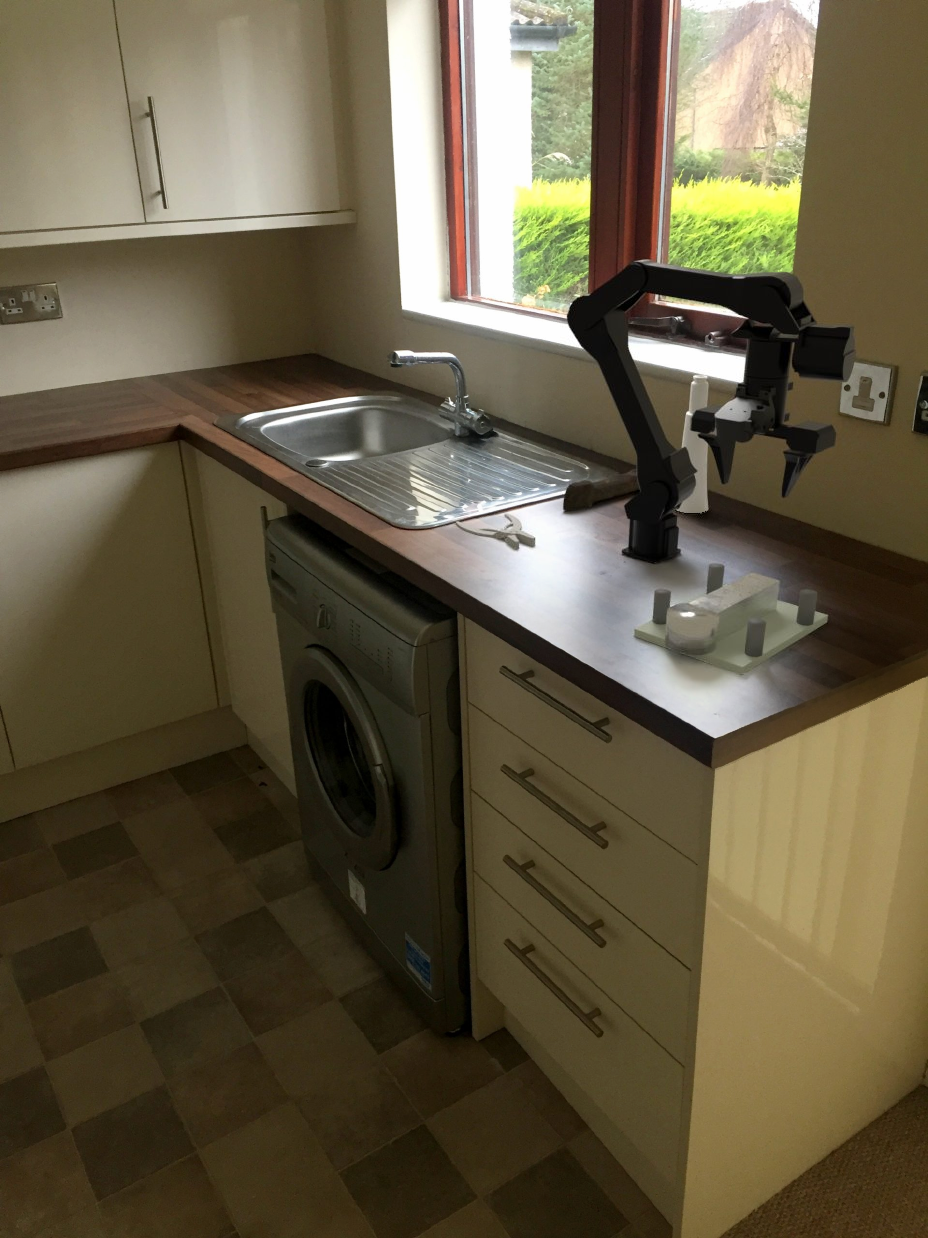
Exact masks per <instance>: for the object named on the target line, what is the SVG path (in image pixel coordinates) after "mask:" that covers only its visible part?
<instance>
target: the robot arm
mask: <svg viewBox="0 0 928 1238" xmlns="http://www.w3.org/2000/svg"><path fill="white" fill-rule="evenodd" d="M804 292H805V291H804V288H803V284H802V283H801V281H800V280H799V277H798V276H797V275H795V274H794V273H791V272H787V271H771V272H753V273H737V274H736V273H735V274H733V273H727V272H720V271H714V270H706V269H701V268H696V267H695V268H694V267H687V266H680V265H674V264H668V263H663V262H662V263H661V262H656V261H654V260H652V259H641V260H634V261H632V262H630V263H628V264H627V265H626V266H625V267H624V268H623V269H622V270H621V271H619V272H618V273H617V274H616V275H614V276H613V277H612V278H610V279H609V280H607V281H606V282H604V283H603V284H602V285H600V286H599V287H598V288H595V289H594V290H593V291H592V292H590V293H587V294H583V295H580V296H578V297H576V298H575V299H574V300H572V302H571V303H570V306H569V308H568V310H567V314H566V321H567V325H568V327H569V329H570V331H571V333H572V334H573V336H574V337H575V339H576V340H577V342H578V344H579V345H580V347H581V348H582V349H583V350H584V351H585V352H586V353H587V354H589V356H591V358H592V359H593V360H594V361H595V362H596V363H597V365H598V367H599V369H600V372H601V375H602V376H603V379H604V381H605V384H606V386H607V388H608V391H609V393H610V397H612V400H613V403H614V404H615V408H616V409H617V413H619V416H620V417H619V418H621V421H622V423H623V426H624V428H625V431H626V433H627V436H628V438H629V440H630V443H631V446H632V447H633V450H634V451H635V455H636V469H637V480H638V484H639V488H640V491H639V493H637V494H636V495H635V496H634V497H632V498H631V499H629V500H628V501H627V502H625V504H624V505H623V508H624V512H625V515H626V516H625V517H626V519H628V520H629V526H628V527H629V528H628V529H629V530H628V542H627V543H628V544H627V545H628V546H626V547H625V548H622V549H621V554H622V555H627V556H628V557H629V556H630V557H633V558H636V559H640V560H643V561H646V562H650V563H652V564H653V563H654V564H659V563H661V562H663V561H665V560H667V559H669V558H672V557H674V556H676V555H679V554H681V551H682V549H681V548H678V546H679V533H680V526H678V517H679V515H677V514H674V512H676V511H675V510H676V509H679V508H680V506H681V504H682V502H683V501H684V500H686V499H687V498H689V497H690V496H691V494H692V493H693V491H694V488H695V486H696V479H695V475H694V474H695V473H697V470H696V469H695V467H694V466H693V465H692V463H691V460H690V457H689V453H688V450H687V448H686V447H683V448H682V447H681V448H680V449H676V448H675V447H674V445H673V444H671V443H670V441H669V440H668V439H667V437H666V434H665V432H664V430H663V427H662V425H661V422H660V420H659V418H658V416H657V413H656V411H655V409H654V406H653V404H652V401H651V399H650V396H649V394H648V392H647V390H646V389H647V388H646V386H645V385H644V381H643V379H642V377H641V375H640V372H639V370H638V367H637V366H636V363H635V361H634V357H633V356H632V353H631V351H630V346H629V324H628V319H627V316H626V313H627V312H628V311H630V310H631V309H632V308H633V307H635V305H636V304H637V303H638V302H639V301H640V300H641V299H642V298H643V297H644V296H645V295H646V294H651V295H655V296H662V297H668V298H673V299H674V298H675V299H680V300H686V301H692V302H699V303H704V304H709V305H715V306H720V307H723V308H725V309H727V310H729V311H730V312H731V311H732V312H733V313H735V314H737V315H739V316H741V317H743V318H746V319H744V320H743V322H742V324H741V325H740V326H739V327H738V328H737V329H735V330H734V331H732V332H731V334H730V335H731V338H733V339H742V340H743V339H744V340H746V352H745V361H744V372H743V381H742V382H739V383H737V387H735V394H734V397H733V399H732V400H729V401H728V402H726V403H725V404H724V405H716V404H712V405H709V406H708V405H707V407H705V408H701V409H698V410H696V411H695V412H694V413H693V415H692V417H691V421H690V430H691V431H694V432H699V434H698V437H699V438H701V439H704V440H705V441H706V442H707V443H708V447H710V450H711V452H712V455H713V458H714V460H715V464H716V469H717V471H718V475H719V479H720V483H721V485H728V484H729V480H730V478H731V474H732V467H733V463H734V457H735V456H734V455H735V450H736V449H735V448H736V444H737V443H741V444H744V443H748V442H750V441H752V440H753V437H754V436H756V435H759V436H763V437H770V438H774V439H781V440H785V444H786V445H787V446H788V449H786V450H783V452H782V453H783V457H784V460H785V466H784V471H783V478H782V484H781V498H783V499H786V498H787V497H789V496H790V494H791V492H792V491H793V488H794V487H795V485H796V483H797V482H798V481H799V478H800V476H801V475H802V473H803V472H804V470H805V469H806V467H807V466H808V464H809V463H810V461H811V459H813V457H814V456H815V455H817V454H818V453H819V454H820V453H822V452H824V451H825V450H827V449H830V448H832V447H835V446H836V438H837V432H836V429H835V428H834V425H833V424H831V423H825V422H818V421H813V420H812V421H811V420H806V421H803V422H800V423H797V424H794V425H790V424H785V422H786V423H787V422H788V421H790V414H791V413H790V412H786V407H787V400H788V399H787V398H788V392H789V391H793V389H794V381H790V374H791V373H790V372H791V367H792V369H793V372H794V373H796V374H797V373H798V376H799V378H800V379H806V380H807V379H808V380H816V381H817V380H818V381H828V382H838V383H839V382H840V383H841V382H842V383H847V382H849V379H850V378H851V375H852V373H853V370H854V366H855V361H856V357H857V350H856V349H855V348H856V343H855V336H854V331H855V327H854V325H853V324H851V325H849V324H840V325H825V324H824V325H823V324H818V323H817V322H818V321H817V320H816V319H815V317H814V315H813V314H812V312H811V310H810V308H809V307H808V305H807V303H806V301H805V300H804ZM758 323H759V324H758ZM767 324H768V325H767ZM736 442H737V443H736Z"/></svg>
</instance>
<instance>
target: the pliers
mask: <svg viewBox="0 0 928 1238" xmlns="http://www.w3.org/2000/svg"><path fill="white" fill-rule="evenodd" d="M504 517H505V518H507V519H508V520H509V521H510V523H507V524H506V525H504V528H500V529H499V530H498V529H494V528H484V527H483V528H482V527H481V528H477V527H472V526H469V525H467V524H464V523H462V522H460V521H455V524H456V526H458V527H459V528H460V529H461V530H463V531H465V532H468V533H470V534H473V535H477V536H482V537H487V538H489V537H490V538H496V539H498V540H499V539H500V540H501V539H504V540H505V541H504V542H506V543H507V544H508V545H510V546H511V547H512V548H514V549H515V550H519V549H520V543H523V544H526V545H529V546H531V547H533V546H536V537H535V536H533V534H530V533H528V532H526V531H524V530H522V529H523V525H522V523H521V521H520V519H519V518H517V516H514V515H512V514H510V513H508V512H505V513H504ZM510 527H511V528H510ZM508 528H509V529H508Z"/></svg>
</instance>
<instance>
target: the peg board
mask: <svg viewBox="0 0 928 1238" xmlns="http://www.w3.org/2000/svg"><path fill="white" fill-rule="evenodd" d="M707 569H708V571H707V579H706V592H705V593H703V594H700V595H699V596H697V597H695V598H693V599H691V600H689V601H687V602H686V603H691V602H693V601H695V600H697V599H699V598H701V597H703V596H705V595H707V594H709V593H711V592H713V591H715V590H717V589H719V588H721V587H723V586H725V585H727V584H725V583H724V577H725V575H724V574H725V564H723V563H720V562H719V563H718V562H713V563H708V568H707ZM671 595H672V591H671V590H670V589H668V588H664V587H663V588H661V587H660V588H656V589H654V592H653V606H652V608H653V609H652V617H651V618H652V619H651V620H649V621H647V622H645V623H643V624H641V625H639V626H637V627H635V628H634V633H633V634H634V635H633V636H634V637H636V638H639V639H640V640H641V639H642V640H644V641H647V642H650V643H652V644H655V645H658V646H660V647H663V648H666V649H669V648H668V647H667V646H666V645H665V633H666V620H667V610H668V608H670V607H671ZM817 599H818V592H817V590H814V589H808V588H806V589H801V590H800V592H799V600H798V605H795V604H793V603H789V602H786V601H782V600H779V599H778V600H777V608H776V610H775V611H773V612H771V613H769V614H768V615H766V616H764V617H762V618H760V619H759V618H751V619H749V620H748V626H746V627H744V628H742V629H741V630H739V631H737V632H735V633H733V634H732V635H730V636H728V637H726V638H724V639H722V640H721V641H719V642H717V647H716V649H715V650H714V651H713V652H711V653H708V654H704V655H686V654H684V655H686V656H688V657H691V658H694V659H697V660H698V661H702V662H704V663H707V664H710V665H713V666H715V667H718V668H721V669H724V670H727V671H729V672H733V673H735V674H738V675H741V676H742V675H744V674H746V673H747V672H749V671H750V670H752V669H753V668H756V667H757V666H758V665H760V664H762V663H763V662H765V661H766V660H767V661H768V659H770V658H772V657H773V656H775V655H776V654H779V653H780V652H781V651H783V650H785V649H786V648H788V647H790V646H792V644H794V643H796V642H797V641H799V640H801V639H802V638H804V637H806V636H807V635H809V634H810V633H812V632H814V631H815V630H817V629H818V628H820V627H821V626H824V625H825V624H826V623H828V620H829V619H828V618H829V615H828V614H826V613H822V612H819V611H816V607H817V602H818V601H817ZM669 650H670V649H669Z"/></svg>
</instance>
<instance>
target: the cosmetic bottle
mask: <svg viewBox="0 0 928 1238" xmlns="http://www.w3.org/2000/svg"><path fill="white" fill-rule="evenodd" d="M708 378H709V377H708V376H707V375H705V374H696V375H693V377H692V379H693V381H692V382H691V383H690V393H689V405H688V407H689V408H688V411H686V414H685V419H684V428H683V434H682V442H681V443H682V444H681V448H683V447H686V448H687V450H688V453H689V457H690V460H691V463H692V465H693V466H694V467H695V469H696V470H697V473H695V474H694V475H695V479H696V486H695V488H694V491H693V493H692V494H691V496H690V497H689V498H687V499H686V500H684V501H683V502H682V504H681V506H680V508H679V509H676V510H677V511H680V512H684V513H700V514H703V513H702V512H704V513H706V512H707V511H709V501H708V487H707V486H708V478H707V477H708V451H709V449H708V447H709V444H708V443H707V442H706V441H705V440H704V439H701V438H699V437H698V434H699V432H694V431H691V430H690V421H691V417H692V415H693V413H694V412H695V411H696V410H698V409H701V408H705V407H708V398H709V387H710V385H709V382H708V381H707V380H708ZM705 511H706V512H705ZM684 513H683V514H684Z"/></svg>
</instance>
